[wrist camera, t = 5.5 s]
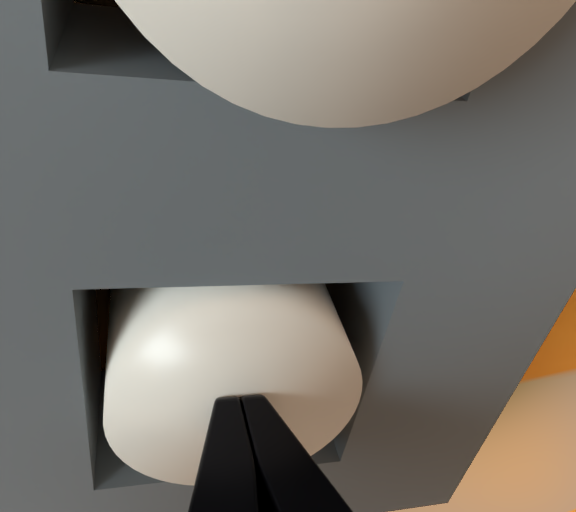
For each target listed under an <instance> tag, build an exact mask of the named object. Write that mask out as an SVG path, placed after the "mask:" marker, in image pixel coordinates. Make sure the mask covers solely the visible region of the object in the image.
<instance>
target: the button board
mask: <svg viewBox="0 0 576 512" xmlns="http://www.w3.org/2000/svg"><path fill="white" fill-rule="evenodd" d="M316 283H325V285H326V287H327V290H328V292H329V295H330V297H331V299H332V302H333V304H334V306H335V309H336V311H337V314H338V316H339V318H340V321H341V323H342V325H343V328H344V330H345V333H346V335H347V337H348V340H349V342H350V344H351V347H352V349H353V352H354V354H355V356H356V359H357V361H358V364H359V367H360V369H361V374H362V381H363V382H362V393H361V397H360V401H359V404H358V406H357V408H356V410H355V413H354V414H353V416H352V417H351V419H350V421H349V422H348V423H347V425H346V426H345V427H344V428H343V430H342V431H341V432H340V433H339V434H338V435H337V436H336V437H335V438H334V439H333V440H332V441H331V442H329V443H328V444H327V445H326V446H324V447H323V448H322V449H320V450H319V451H318V452H316V453H315V454H313V455H312V456H311V457H312V458H313V460H314V461H315V462H316V464H317V465H318V466H319V468H320V469H321V470H322V472H323V473H324V474H325V476H326V477H327V478H328V479H329V481H330V482H331V483H332V485H333V486H334V487H335V489H336V490H337V491H338V493H339V494H340V495H341V497H342V498H343V499H344V500H345V502H346V503H347V504H348V506H349V507H350V508H351V510H352V511H353V512H388V511H395V510H401V509H408V508H415V507H422V506H429V505H436V504H442V503H448V501H449V500H450V498H451V496H452V495H453V493H454V491H455V490H456V488H457V486H458V485H459V483H460V481H461V480H462V478H463V476H464V474H465V473H466V471H467V469H468V468H469V466H470V465H471V463H472V461H473V459H474V458H475V456H476V454H477V453H478V451H479V449H480V447H481V446H482V444H483V443H484V441H485V439H486V438H487V436H488V434H489V433H490V431H491V429H492V428H493V426H494V424H495V423H496V421H497V419H498V418H499V416H500V414H501V412H502V411H503V409H504V407H505V406H506V404H507V402H508V401H509V399H510V397H511V396H512V394H513V392H514V391H515V389H516V387H517V386H518V384H519V382H520V381H521V379H522V377H523V376H524V374H525V372H526V370H527V369H528V367H529V365H530V364H531V362H532V360H533V359H534V357H535V355H536V354H537V352H538V350H539V349H540V347H541V345H542V344H543V342H544V340H545V339H546V337H547V335H548V334H549V332H550V330H551V329H552V327H553V325H554V323H555V322H556V320H557V318H558V317H559V315H560V313H561V312H562V310H563V308H564V307H565V305H566V303H567V302H568V300H569V298H570V297H571V295H572V293H573V292H574V290H575V288H576V2H575V3H574V4H573V5H572V6H571V7H570V9H569V10H568V11H567V12H566V13H565V14H564V16H563V17H562V18H561V19H560V20H559V21H558V22H557V23H556V24H555V25H554V26H553V27H552V28H551V29H550V30H549V31H548V32H547V33H546V34H545V35H544V36H543V37H542V38H541V39H540V40H539V41H538V42H537V43H536V44H535V45H534V46H533V47H531V48H530V49H529V50H528V51H527V52H525V53H524V54H523V55H522V56H520V57H519V58H518V59H517V60H516V61H514V62H513V63H512V64H511V65H510V66H508V67H507V68H506V69H504V70H503V71H501V72H500V73H498V74H497V75H495V76H494V77H492V78H491V79H490V80H488V81H487V82H485V83H484V84H482V85H481V86H479V87H478V88H476V89H474V90H472V91H470V92H468V93H466V94H465V95H463V96H461V97H459V98H457V99H455V100H453V101H451V102H449V103H447V104H445V105H442V106H440V107H437V108H435V109H432V110H430V111H427V112H425V113H422V114H420V115H417V116H413V117H409V118H406V119H402V120H398V121H394V122H391V123H386V124H379V125H372V126H365V127H357V128H322V127H314V126H306V125H297V124H292V123H288V122H285V121H281V120H277V119H273V118H269V117H265V116H262V115H260V114H257V113H255V112H252V111H250V110H247V109H245V108H243V107H240V106H238V105H235V104H233V103H231V102H229V101H228V100H226V99H224V98H222V97H220V96H219V95H217V94H215V93H213V92H212V91H210V90H208V89H206V88H205V87H203V86H201V85H200V84H199V83H197V82H196V81H195V80H193V79H192V78H191V77H189V76H188V75H187V74H185V73H184V72H183V71H181V70H180V69H179V68H178V67H176V66H175V65H174V64H172V63H171V62H170V61H169V60H168V59H167V58H166V57H165V56H164V55H163V54H162V53H161V52H160V51H159V50H158V49H157V48H156V47H155V46H154V45H153V44H151V43H150V42H149V41H148V40H147V39H146V38H145V37H144V36H143V35H142V33H141V32H140V31H139V30H138V29H137V27H136V26H135V25H134V24H133V22H132V21H131V20H130V19H129V18H128V16H127V15H126V14H125V13H124V11H123V10H122V9H121V8H119V7H110V6H100V5H90V4H81V3H74V0H0V512H188V509H189V505H190V500H191V496H192V492H193V488H194V486H193V485H182V484H175V483H169V482H165V481H161V480H157V479H155V478H152V477H149V476H146V475H144V474H142V473H140V472H138V471H136V470H134V469H133V468H131V467H130V466H128V465H127V464H126V463H124V462H123V461H122V460H121V459H120V458H119V457H118V456H117V455H116V454H115V453H114V451H113V450H112V448H111V447H110V446H109V443H108V441H107V439H106V437H105V433H104V428H103V409H104V391H105V373H106V370H101V358H100V345H99V332H98V318H97V305H96V292H95V289H119V288H158V287H198V286H237V285H276V284H316Z"/></svg>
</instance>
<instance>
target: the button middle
mask: <svg viewBox="0 0 576 512" xmlns="http://www.w3.org/2000/svg"><path fill="white" fill-rule="evenodd" d="M115 2H116V3H117V4H118V5H119V6H120V8H121V9H122V10H123V11H124V13H125V14H126V15H127V16H128V18H129V19H130V20H131V21H132V22H133V24H134V25H135V26H136V27H137V29H138V30H139V31H140V32H141V33H142V35H143V36H144V37H145V38H146V39H147V40H148V41H149V42H150V43H151V44H153V45H154V46H155V47H156V48H157V49H158V50H159V51H160V52H161V53H162V54H163V55H164V56H165V57H166V58H167V59H168V60H169V61H170V62H171V63H172V64H174V65H175V66H176V67H178V68H179V69H180V70H181V71H183V72H184V73H185V74H187V75H188V76H189V77H191V78H192V79H193V80H195V81H196V82H197V83H199V84H200V85H201V86H203V87H205V88H206V89H208V90H210V91H212V92H213V93H215V94H217V95H219V96H220V97H222V98H224V99H226V100H228V101H229V102H231V103H233V104H235V105H238V106H240V107H243V108H245V109H247V110H250V111H252V112H255V113H257V114H260V115H262V116H265V117H269V118H273V119H277V120H281V121H285V122H288V123H292V124H297V125H306V126H314V127H322V128H357V127H365V126H372V125H379V124H386V123H391V122H394V121H398V120H402V119H406V118H409V117H413V116H417V115H420V114H422V113H425V112H427V111H430V110H432V109H435V108H437V107H440V106H442V105H445V104H447V103H449V102H451V101H453V100H455V99H457V98H459V97H461V96H463V95H465V94H466V93H468V92H470V91H472V90H474V89H476V88H478V87H479V86H481V85H482V84H484V83H485V82H487V81H488V80H490V79H491V78H492V77H494V76H495V75H497V74H498V73H500V72H501V71H503V70H504V69H506V68H507V67H508V66H510V65H511V64H512V63H513V62H514V61H516V60H517V59H518V58H519V57H520V56H522V55H523V54H524V53H525V52H527V51H528V50H529V49H530V48H531V47H533V46H534V45H535V44H536V43H537V42H538V41H539V40H540V39H541V38H542V37H543V36H544V35H545V34H546V33H547V32H548V31H549V30H550V29H551V28H552V27H553V26H554V25H555V24H556V23H557V22H558V21H559V20H560V19H561V18H562V17H563V16H564V14H565V13H566V12H567V11H568V10H569V9H570V7H571V6H572V5H573V4H574V3H575V2H576V0H115Z"/></svg>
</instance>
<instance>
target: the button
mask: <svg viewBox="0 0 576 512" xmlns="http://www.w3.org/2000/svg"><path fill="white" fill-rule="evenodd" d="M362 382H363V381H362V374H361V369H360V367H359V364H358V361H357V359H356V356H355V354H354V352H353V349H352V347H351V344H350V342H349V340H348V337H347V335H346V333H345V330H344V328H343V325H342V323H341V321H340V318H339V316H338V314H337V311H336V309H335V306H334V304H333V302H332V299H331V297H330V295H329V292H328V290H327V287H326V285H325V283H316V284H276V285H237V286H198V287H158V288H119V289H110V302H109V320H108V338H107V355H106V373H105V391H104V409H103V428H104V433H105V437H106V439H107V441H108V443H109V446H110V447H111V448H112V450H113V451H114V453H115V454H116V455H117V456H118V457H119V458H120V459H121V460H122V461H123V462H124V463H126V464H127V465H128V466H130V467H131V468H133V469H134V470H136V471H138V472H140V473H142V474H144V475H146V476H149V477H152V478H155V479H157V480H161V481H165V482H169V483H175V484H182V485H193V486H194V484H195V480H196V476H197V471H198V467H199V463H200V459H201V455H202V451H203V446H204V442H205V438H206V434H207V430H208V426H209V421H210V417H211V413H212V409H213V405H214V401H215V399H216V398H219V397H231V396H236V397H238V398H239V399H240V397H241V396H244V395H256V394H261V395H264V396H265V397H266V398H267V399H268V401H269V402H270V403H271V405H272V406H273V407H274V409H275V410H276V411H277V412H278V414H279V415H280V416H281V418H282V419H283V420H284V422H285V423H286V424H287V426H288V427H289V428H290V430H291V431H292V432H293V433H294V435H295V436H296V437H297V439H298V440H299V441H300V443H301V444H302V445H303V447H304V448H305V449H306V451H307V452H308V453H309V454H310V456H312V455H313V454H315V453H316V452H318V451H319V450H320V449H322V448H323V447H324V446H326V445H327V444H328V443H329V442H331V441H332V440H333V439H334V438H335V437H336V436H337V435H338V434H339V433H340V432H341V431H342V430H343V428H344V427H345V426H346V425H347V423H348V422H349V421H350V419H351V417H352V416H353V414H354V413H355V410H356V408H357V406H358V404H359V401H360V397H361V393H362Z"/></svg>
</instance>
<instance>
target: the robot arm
mask: <svg viewBox="0 0 576 512" xmlns="http://www.w3.org/2000/svg"><path fill="white" fill-rule="evenodd" d="M188 512H353V511H352V510H351V508H350V507H349V506H348V504H347V503H346V502H345V500H344V499H343V498H342V497H341V495H340V494H339V493H338V491H337V490H336V489H335V487H334V486H333V485H332V483H331V482H330V481H329V479H328V478H327V477H326V476H325V474H324V473H323V472H322V470H321V469H320V468H319V466H318V465H317V464H316V462H315V461H314V460H313V458H312V457H311V456H310V454H309V453H308V452H307V451H306V449H305V448H304V447H303V445H302V444H301V443H300V441H299V440H298V439H297V437H296V436H295V435H294V433H293V432H292V431H291V430H290V428H289V427H288V426H287V424H286V423H285V422H284V420H283V419H282V418H281V416H280V415H279V414H278V412H277V411H276V410H275V409H274V407H273V406H272V405H271V403H270V402H269V401H268V399H267V398H266V397H265V396H264V395H261V394H256V395H244V396H241V397H240V399H239V398H238V397H236V396H231V397H219V398H216V399H215V401H214V405H213V409H212V413H211V417H210V421H209V426H208V430H207V434H206V438H205V442H204V446H203V451H202V455H201V459H200V463H199V467H198V471H197V476H196V480H195V484H194V488H193V492H192V496H191V500H190V505H189V509H188Z"/></svg>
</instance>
